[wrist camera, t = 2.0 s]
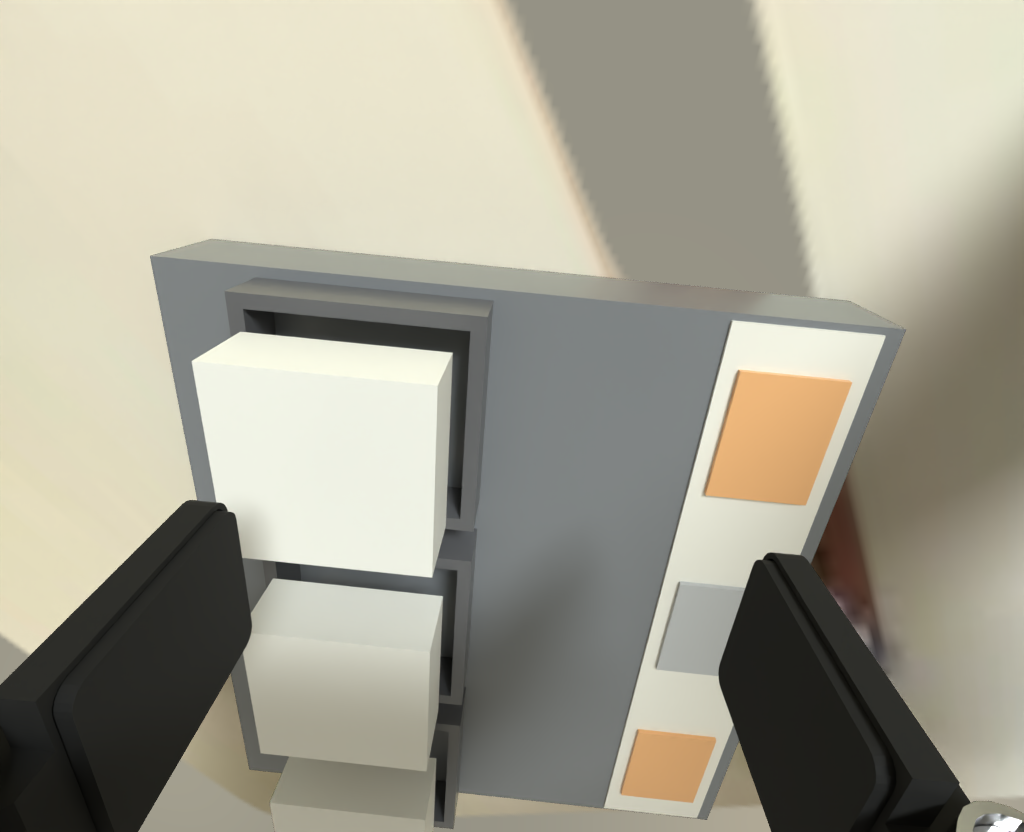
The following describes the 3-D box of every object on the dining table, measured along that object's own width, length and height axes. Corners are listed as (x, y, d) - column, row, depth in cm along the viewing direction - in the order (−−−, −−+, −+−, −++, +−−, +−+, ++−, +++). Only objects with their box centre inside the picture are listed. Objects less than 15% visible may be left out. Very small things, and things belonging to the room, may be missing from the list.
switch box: (849, 300, 17) (945, 349, 13) (690, 752, 27) (716, 862, 23) (211, 238, 18) (107, 267, 13) (279, 707, 27) (230, 808, 23)
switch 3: (436, 758, 20) (425, 820, 18) (433, 839, 22) (422, 901, 20) (294, 742, 20) (269, 803, 18) (305, 824, 22) (284, 885, 20)
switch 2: (442, 596, 16) (430, 651, 14) (438, 710, 18) (426, 771, 17) (273, 578, 16) (239, 631, 15) (288, 694, 19) (260, 753, 17)
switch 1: (452, 352, 13) (437, 385, 11) (445, 526, 15) (431, 577, 13) (240, 331, 13) (191, 360, 11) (263, 507, 15) (225, 555, 13)
